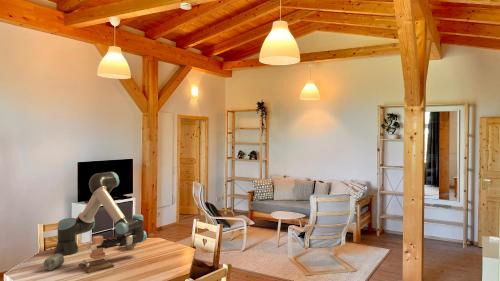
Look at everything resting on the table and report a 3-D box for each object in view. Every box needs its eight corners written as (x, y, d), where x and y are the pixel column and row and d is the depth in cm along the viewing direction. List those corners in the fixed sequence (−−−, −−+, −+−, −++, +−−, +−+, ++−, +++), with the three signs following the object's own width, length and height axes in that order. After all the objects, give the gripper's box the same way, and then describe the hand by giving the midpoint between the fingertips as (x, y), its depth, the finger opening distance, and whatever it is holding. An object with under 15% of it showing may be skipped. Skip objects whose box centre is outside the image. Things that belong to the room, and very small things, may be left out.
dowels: (81, 265, 229) (81, 260, 229) (85, 264, 230) (85, 260, 230) (86, 269, 223) (86, 264, 223) (90, 268, 225) (90, 263, 225)
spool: (54, 267, 220) (51, 251, 223) (41, 273, 221) (38, 257, 224) (70, 265, 233) (66, 250, 236) (57, 271, 234) (53, 256, 237)
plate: (78, 266, 231) (78, 264, 231) (103, 260, 243) (103, 258, 243) (88, 273, 220) (88, 271, 220) (113, 267, 231) (113, 264, 231)
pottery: (142, 240, 290) (142, 226, 290) (136, 250, 265) (136, 234, 265) (127, 241, 288) (128, 226, 288) (120, 251, 264) (120, 234, 263)
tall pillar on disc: (87, 256, 231) (87, 236, 231) (101, 253, 238) (101, 234, 238) (93, 259, 225) (93, 239, 225) (107, 256, 232) (107, 236, 231)
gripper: (130, 248, 238) (95, 256, 221) (118, 242, 251) (83, 249, 234) (130, 237, 238) (95, 244, 221) (118, 231, 250) (83, 238, 234)
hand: (89, 247), depth 228 cm, fingers closed on tall pillar on disc, 5 cm apart
